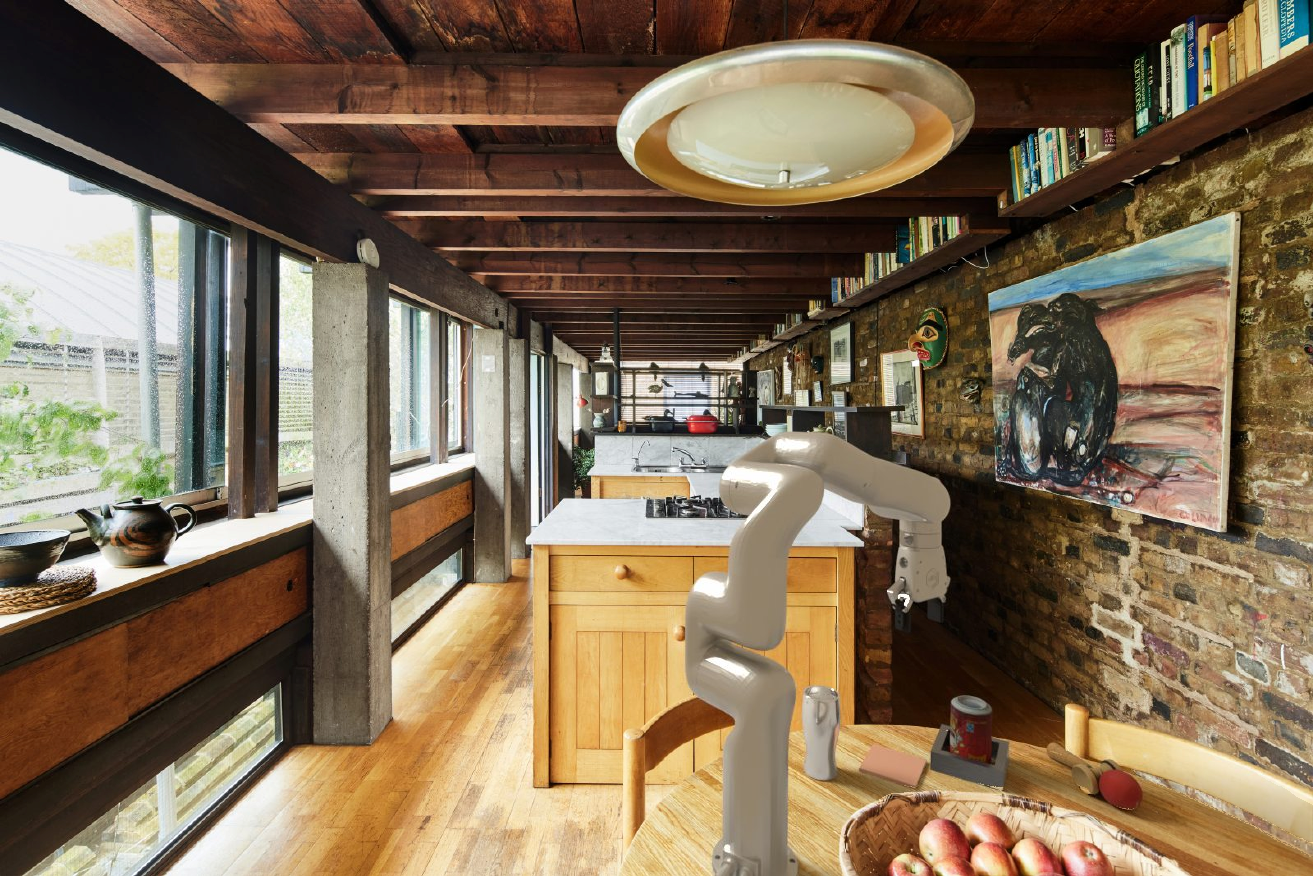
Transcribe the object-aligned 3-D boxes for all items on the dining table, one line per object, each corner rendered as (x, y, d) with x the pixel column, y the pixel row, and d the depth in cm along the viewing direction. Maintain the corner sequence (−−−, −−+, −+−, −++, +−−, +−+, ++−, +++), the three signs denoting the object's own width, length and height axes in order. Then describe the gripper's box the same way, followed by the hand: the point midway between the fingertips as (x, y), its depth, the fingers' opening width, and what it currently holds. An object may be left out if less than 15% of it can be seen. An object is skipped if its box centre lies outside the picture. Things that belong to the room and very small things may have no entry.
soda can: (942, 754, 121) (944, 693, 120) (977, 753, 121) (979, 692, 121) (961, 776, 114) (963, 711, 113) (998, 775, 114) (1001, 710, 113)
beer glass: (844, 782, 112) (845, 702, 111) (805, 782, 112) (806, 701, 111) (834, 760, 119) (835, 684, 118) (797, 760, 119) (798, 684, 118)
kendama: (1032, 767, 119) (1113, 814, 101) (1035, 733, 120) (1116, 774, 102) (1068, 771, 120) (1154, 819, 102) (1071, 737, 121) (1157, 779, 103)
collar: (1003, 791, 109) (1003, 772, 109) (930, 769, 116) (930, 751, 116) (1008, 759, 119) (1009, 741, 119) (941, 740, 126) (941, 724, 126)
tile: (915, 789, 110) (915, 786, 110) (858, 771, 115) (859, 768, 115) (926, 762, 118) (926, 759, 118) (873, 746, 124) (873, 743, 124)
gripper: (907, 549, 113) (906, 640, 114) (965, 537, 121) (964, 622, 122) (874, 541, 119) (873, 628, 120) (931, 530, 128) (930, 611, 129)
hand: (919, 625), depth 121 cm, fingers open, 9 cm apart
